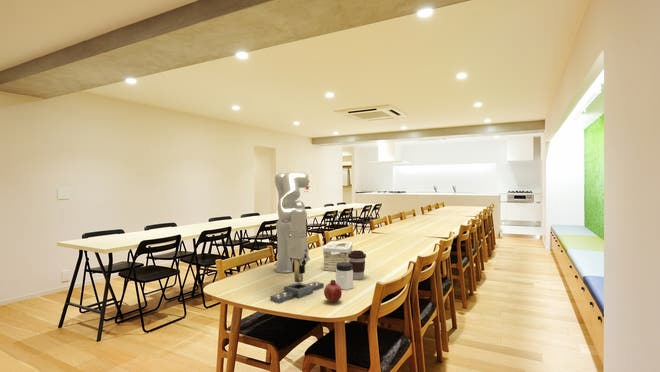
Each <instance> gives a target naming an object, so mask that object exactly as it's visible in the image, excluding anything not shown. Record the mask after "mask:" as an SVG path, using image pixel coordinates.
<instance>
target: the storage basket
mask: <svg viewBox="0 0 660 372" xmlns="http://www.w3.org/2000/svg"><path fill="white" fill-rule="evenodd" d="M351 251H353V242H352V241H333V240H332V241H331V240H330V241H329V242H327V243H326V244H325V245H323V248H322V252H323V253H322V254H323V265H324V266H323V269H324V271H329V272H332V271H333V272H334V271H335V272H336V269H337V263H342V262H347V263H349V260H350V259H349V257H348V254H350V253H351Z"/></svg>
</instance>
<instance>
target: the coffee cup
mask: <svg viewBox="0 0 660 372" xmlns="http://www.w3.org/2000/svg"><path fill="white" fill-rule="evenodd" d="M348 257H349V259H350V260H349V263H351V264H352V270H353V280H356V281H359V280H363V279H364V277H365V268H366V267H365V266H366V258H367V254H366V253H364V251H362V250H352V251H351V253H350V254H348Z"/></svg>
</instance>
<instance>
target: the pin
mask: <svg viewBox="0 0 660 372" xmlns="http://www.w3.org/2000/svg"><path fill="white" fill-rule="evenodd" d="M302 262H303V260H302ZM299 266H300V260H299V259H294V272H293V273H294V283H298V282H299V283H303V282H304V278H303V277H304V273H303V274H299Z"/></svg>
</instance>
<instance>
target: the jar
mask: <svg viewBox="0 0 660 372" xmlns="http://www.w3.org/2000/svg"><path fill="white" fill-rule="evenodd" d="M335 281H336V284H337V285H339V286H340V288H341V291H342V290H344V291H347V290H351V289H354V279H353V270H352V264H351V263H347V262H342V263H337V269H336V271H335Z"/></svg>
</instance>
